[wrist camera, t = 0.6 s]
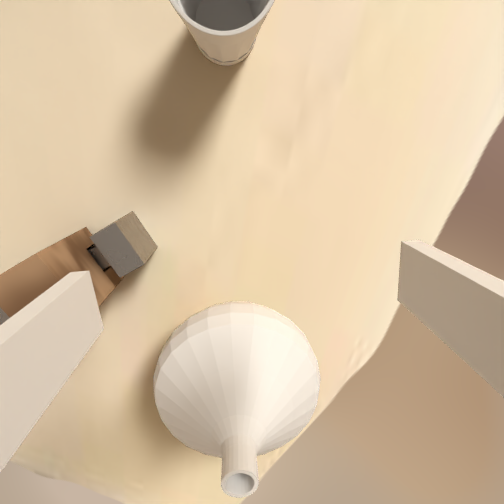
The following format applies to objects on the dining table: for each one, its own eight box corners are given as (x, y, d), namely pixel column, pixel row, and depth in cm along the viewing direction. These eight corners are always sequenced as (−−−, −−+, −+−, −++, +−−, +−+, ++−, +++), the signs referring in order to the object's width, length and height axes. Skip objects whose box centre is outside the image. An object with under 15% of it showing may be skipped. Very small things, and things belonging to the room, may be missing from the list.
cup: (235, 91, 34) (236, 62, 23) (169, 39, 32) (135, -21, 21) (280, 20, 32) (306, -51, 21) (213, -39, 31) (202, -151, 19)
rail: (-63, 325, 40) (-112, 354, 34) (132, 211, 37) (114, 222, 32) (-33, 354, 42) (-75, 387, 36) (157, 247, 39) (144, 264, 33)
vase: (221, 419, 47) (213, 590, 29) (138, 330, 42) (66, 468, 24) (329, 355, 45) (394, 497, 27) (255, 252, 40) (274, 341, 21)
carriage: (43, 251, 38) (-20, 286, 28) (86, 226, 37) (35, 253, 28) (83, 300, 40) (36, 346, 30) (123, 277, 39) (89, 317, 30)
